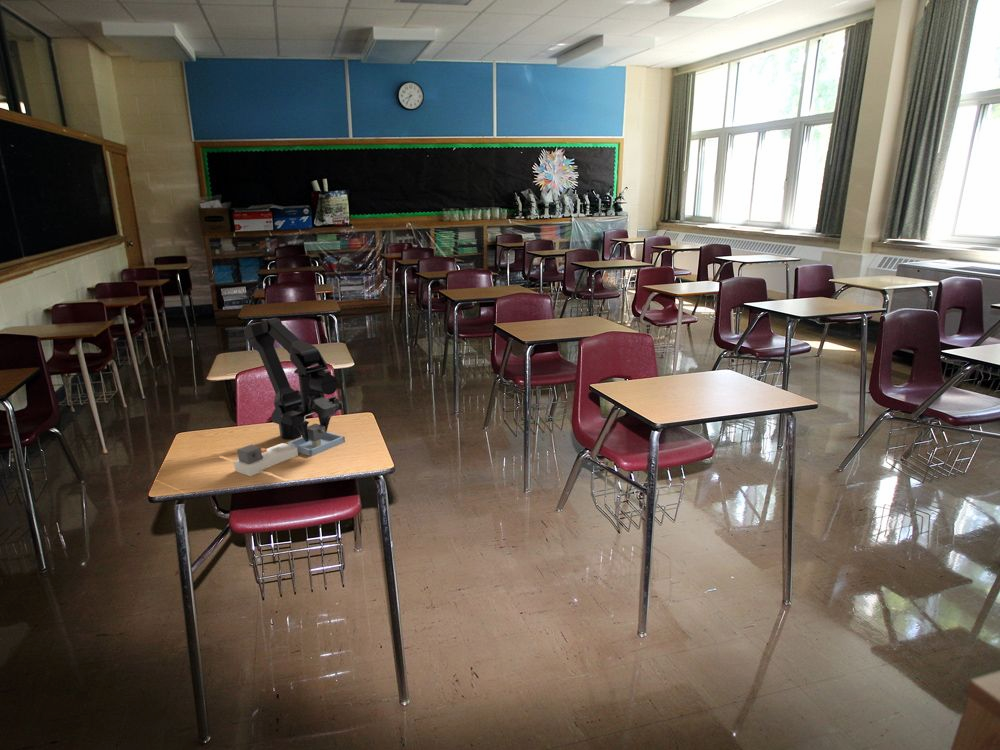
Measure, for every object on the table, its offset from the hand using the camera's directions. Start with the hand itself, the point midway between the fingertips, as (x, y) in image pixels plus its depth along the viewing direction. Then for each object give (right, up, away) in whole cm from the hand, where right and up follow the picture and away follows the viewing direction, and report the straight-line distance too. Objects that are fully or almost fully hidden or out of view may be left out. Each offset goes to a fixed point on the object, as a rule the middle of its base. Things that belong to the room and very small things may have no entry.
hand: (315, 437), depth 190 cm
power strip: (-10, -7, -11) cm, 16 cm away
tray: (0, -3, +1) cm, 3 cm away
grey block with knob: (0, -2, +1) cm, 2 cm away
